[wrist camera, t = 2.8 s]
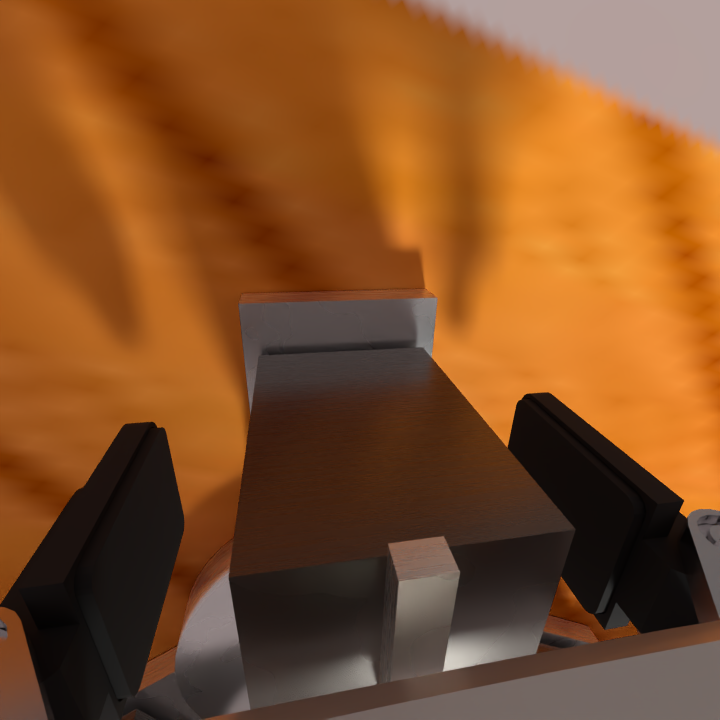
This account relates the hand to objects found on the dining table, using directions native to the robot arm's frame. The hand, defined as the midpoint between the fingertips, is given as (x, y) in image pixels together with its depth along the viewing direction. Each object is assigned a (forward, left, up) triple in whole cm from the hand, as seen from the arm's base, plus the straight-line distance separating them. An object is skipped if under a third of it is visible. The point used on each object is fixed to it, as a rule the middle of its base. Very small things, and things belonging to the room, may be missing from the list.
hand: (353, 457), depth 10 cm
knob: (0, 0, -2) cm, 2 cm away
